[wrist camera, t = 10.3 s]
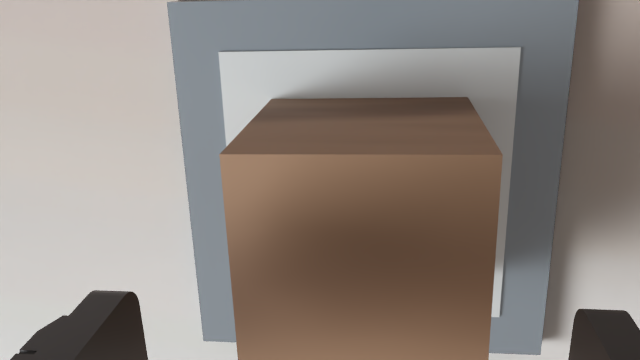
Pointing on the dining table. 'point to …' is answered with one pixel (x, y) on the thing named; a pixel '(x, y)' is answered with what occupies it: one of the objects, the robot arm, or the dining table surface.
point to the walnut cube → (362, 229)
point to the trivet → (384, 82)
